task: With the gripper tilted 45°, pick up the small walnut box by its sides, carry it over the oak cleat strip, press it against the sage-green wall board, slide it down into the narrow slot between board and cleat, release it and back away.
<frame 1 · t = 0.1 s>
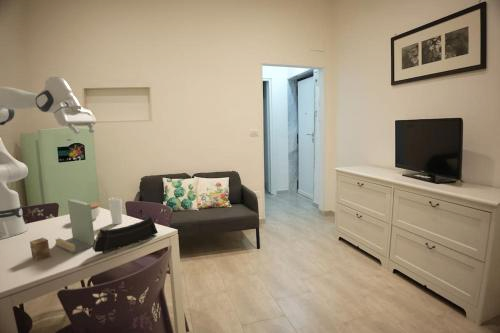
hand: (85, 132, 136), 54 cm above the table, tool tilted 30°, fingers open, 8 cm apart
lidded bowl: (89, 219, 175), on the table
magazine: (128, 245, 137), on the table
wall board: (74, 245, 137), on the table
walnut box: (41, 257, 125), on the table
drinking glass: (117, 223, 167), on the table
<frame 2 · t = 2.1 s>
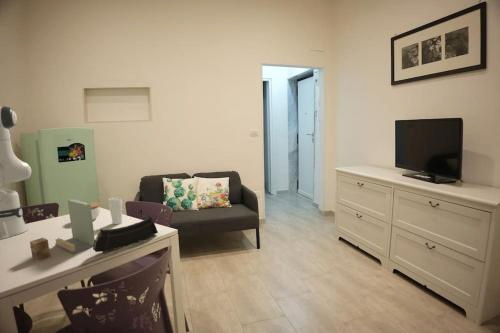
hand: (6, 201, 114), 28 cm above the table, tool tilted 45°, fingers open, 8 cm apart
nothing on the table moved.
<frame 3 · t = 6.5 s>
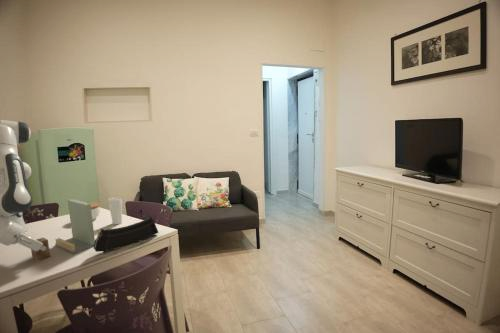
hand: (41, 247, 125), 5 cm above the table, tool tilted 45°, fingers closed on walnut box, 5 cm apart
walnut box: (41, 257, 125), on the table, touching gripper
everything else where it was.
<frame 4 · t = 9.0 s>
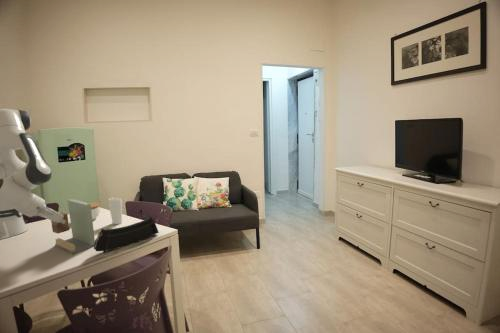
hand: (61, 221, 131), 14 cm above the table, tool tilted 45°, fingers closed on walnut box, 5 cm apart
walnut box: (61, 230, 131), point 9 cm above the table, touching gripper
everything else where it was.
when the fingers open (7 cm above the table, at t = 11.5 s): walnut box stays where it is, resting on wall board.
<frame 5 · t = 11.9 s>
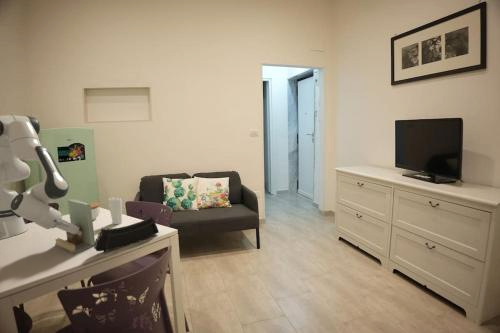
hand: (75, 232, 137), 7 cm above the table, tool tilted 45°, fingers open, 8 cm apart
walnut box: (75, 243, 137), point 1 cm above the table, touching wall board
everything else where it was.
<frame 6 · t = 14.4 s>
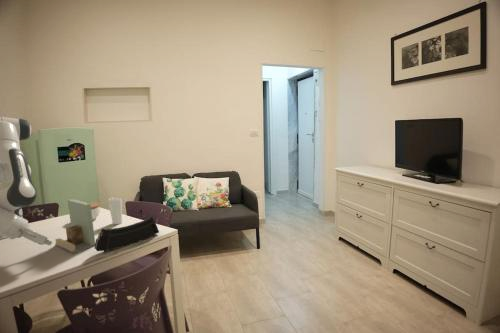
hand: (45, 241, 126), 7 cm above the table, tool tilted 45°, fingers open, 8 cm apart
nothing on the table moved.
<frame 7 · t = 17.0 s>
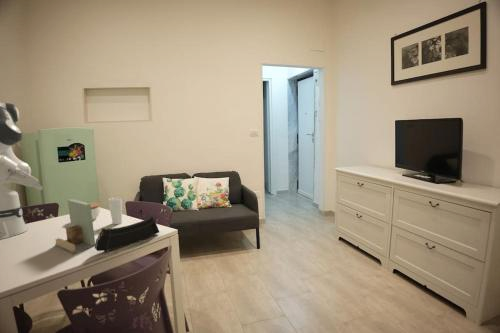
hand: (37, 187, 122), 31 cm above the table, tool tilted 45°, fingers open, 8 cm apart
nothing on the table moved.
at the end: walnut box 0.4 cm off-centre on the wall board, point 1.0 cm above the wall board's base; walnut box tilted 0°; the gripper is holding nothing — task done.
